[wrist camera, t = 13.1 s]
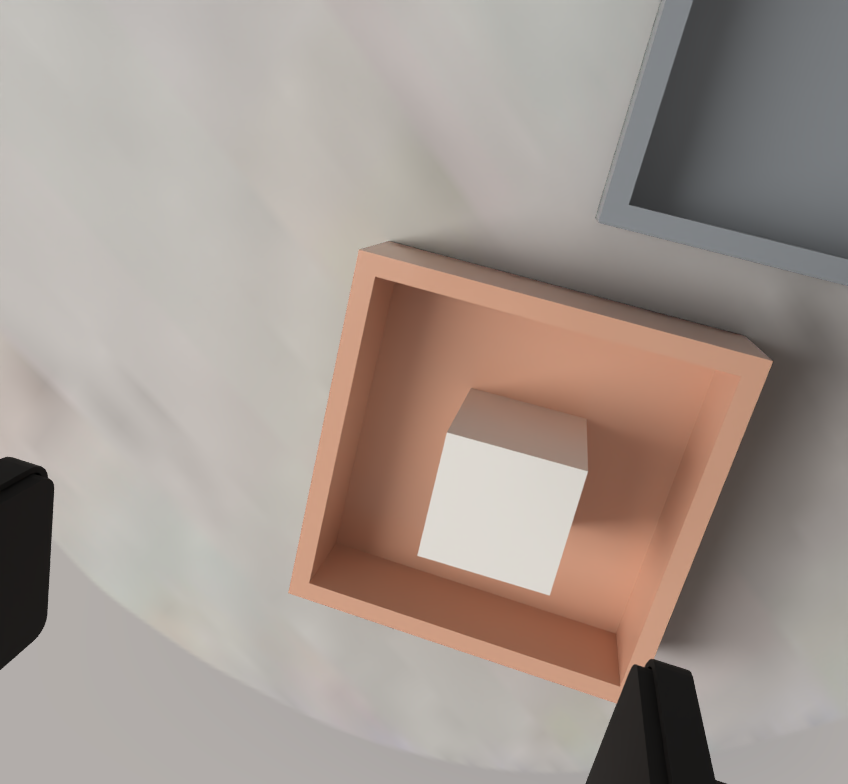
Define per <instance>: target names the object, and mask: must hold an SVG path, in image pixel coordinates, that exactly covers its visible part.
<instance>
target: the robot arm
mask: <svg viewBox="0 0 848 784" xmlns="http://www.w3.org/2000/svg"><path fill="white" fill-rule="evenodd" d="M53 501H54V484H53V482H52V480H50V479H49V478H48V474H47V472H46V470H45V469H44V468H43V467H41V466H38V465H35V464H32V463H29V462H25V461H22V460H19V459H16V458H13V457H5V458H2V459H0V670H1V669H2V668H3V667H4V666H5V665H6V664H8V663H9V662H10V661H11V660H12V659H13V658H15V657H16V656H17V655H18V654H19V653H20V652H21V651H23V650H24V649H25V648H26V647H27V646H28V645H29V644H30V643H32V642H33V641H34V640H35V639H36V638H37V637H38V635H39V634H40V633H41V631H42V629H43V627H44V625H45V622H46V619H47V609H48V590H49V572H50V555H51V537H52V519H53ZM586 784H726V783H722V782H720V781H717V780H715V777H714V772H713V768H712V763H711V758H710V754H709V749H708V745H707V740H706V735H705V731H704V726H703V722H702V717H701V712H700V708H699V703H698V699H697V694H696V690H695V685H694V680H693V676H692V674H691V672H690V671H689V670H686V669H683V668H680V667H677V666H673V665H670V664H667V663H664V662H661V661H658V660H654V659H650V660H648V662H647V663H646V665H645V667H642V666H639V665H636V664H634V665H633V666H632V667H631V669H630V671H629V674H628V676H627V679H626V681H625V684H624V686H623V689H622V692H621V694H620V697H619V699H618V702H617V704H616V707H615V710H614V712H613V715H612V717H611V720H610V722H609V725H608V727H607V730H606V733H605V735H604V738H603V740H602V743H601V745H600V748H599V750H598V753H597V756H596V758H595V761H594V763H593V766H592V768H591V771H590V774H589V776H588V779H587V781H586Z"/></svg>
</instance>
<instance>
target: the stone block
mask: <svg viewBox="0 0 848 784" xmlns="http://www.w3.org/2000/svg"><path fill="white" fill-rule="evenodd" d="M587 473H588V452H587V419H585V418H582V417H578V416H574V415H570V414H567V413H563V412H559V411H555V410H552V409H548V408H544V407H540V406H537V405H533V404H529V403H525V402H522V401H518V400H514V399H510V398H507V397H503V396H499V395H495V394H492V393H488V392H484V391H480V390H477V389H473V388H471V389H470V391H469V393H468V394H467V396H466V398H465V400H464V402H463V404H462V405H461V407H460V409H459V411H458V413H457V415H456V417H455V418H454V420H453V422H452V424H451V426H450V428H449V429H448V431H447V434H446V438H445V442H444V446H443V451H442V455H441V459H440V463H439V467H438V472H437V476H436V480H435V484H434V488H433V492H432V497H431V501H430V505H429V509H428V513H427V517H426V522H425V526H424V530H423V534H422V538H421V542H420V547H419V551H418V555H417V556H420V557H423V558H427V559H430V560H433V561H437V562H440V563H443V564H447V565H450V566H453V567H457V568H460V569H463V570H467V571H470V572H473V573H476V574H480V575H483V576H486V577H490V578H493V579H496V580H500V581H503V582H506V583H510V584H513V585H516V586H520V587H523V588H526V589H530V590H533V591H536V592H540V593H543V594H546V595H550V593H551V590H552V586H553V583H554V580H555V577H556V573H557V570H558V567H559V564H560V561H561V557H562V554H563V551H564V548H565V544H566V541H567V538H568V535H569V531H570V528H571V525H572V522H573V519H574V515H575V512H576V509H577V506H578V502H579V499H580V496H581V493H582V489H583V486H584V483H585V480H586V477H587Z"/></svg>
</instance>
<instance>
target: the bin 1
mask: <svg viewBox="0 0 848 784" xmlns="http://www.w3.org/2000/svg"><path fill="white" fill-rule="evenodd" d="M772 363H773V361H772V360H771V359H770V358H769V357H768V356H767V355H766V354H765V353H763V352H762V351H761V350H760V349H759V348H758V347H757V346H756V345H755V344H753V343H752V342H751V341H750V340H749V339H748V338H747V337H746V336H743V335H740V334H736V333H732V332H728V331H725V330H721V329H717V328H713V327H710V326H706V325H702V324H698V323H695V322H691V321H687V320H683V319H680V318H676V317H672V316H668V315H665V314H661V313H657V312H653V311H650V310H646V309H642V308H638V307H635V306H631V305H627V304H623V303H620V302H616V301H612V300H608V299H605V298H601V297H597V296H593V295H590V294H586V293H582V292H578V291H575V290H571V289H567V288H563V287H560V286H556V285H552V284H548V283H545V282H541V281H537V280H533V279H530V278H526V277H522V276H518V275H515V274H511V273H507V272H503V271H500V270H496V269H492V268H488V267H485V266H481V265H477V264H473V263H470V262H466V261H462V260H458V259H455V258H451V257H447V256H443V255H440V254H436V253H432V252H428V251H425V250H421V249H417V248H413V247H410V246H406V245H402V244H398V243H395V242H391V241H388V242H384V243H381V244H377V245H373V246H370V247H366V248H363V249H359V252H358V257H357V262H356V267H355V271H354V276H353V281H352V286H351V291H350V296H349V301H348V306H347V310H346V315H345V320H344V325H343V330H342V335H341V340H340V344H339V349H338V354H337V359H336V364H335V369H334V374H333V379H332V383H331V388H330V393H329V398H328V403H327V408H326V413H325V417H324V422H323V427H322V432H321V437H320V442H319V447H318V452H317V456H316V461H315V466H314V471H313V476H312V481H311V486H310V490H309V495H308V500H307V505H306V510H305V515H304V520H303V525H302V529H301V534H300V539H299V544H298V549H297V554H296V559H295V563H294V568H293V573H292V578H291V583H290V588H289V593H290V594H293V595H296V596H299V597H302V598H305V599H308V600H310V601H313V602H316V603H319V604H322V605H325V606H328V607H331V608H334V609H337V610H340V611H343V612H346V613H349V614H352V615H355V616H358V617H361V618H364V619H367V620H370V621H373V622H376V623H379V624H382V625H385V626H388V627H391V628H394V629H397V630H400V631H403V632H406V633H409V634H412V635H415V636H418V637H421V638H424V639H427V640H429V641H432V642H435V643H438V644H441V645H444V646H447V647H450V648H453V649H456V650H459V651H462V652H465V653H468V654H471V655H474V656H477V657H480V658H483V659H486V660H489V661H492V662H495V663H498V664H501V665H504V666H507V667H510V668H513V669H516V670H519V671H522V672H525V673H528V674H531V675H534V676H537V677H540V678H543V679H546V680H549V681H551V682H554V683H557V684H560V685H563V686H566V687H569V688H572V689H575V690H578V691H581V692H584V693H587V694H590V695H593V696H596V697H599V698H602V699H605V700H608V701H611V702H614V703H617V702H618V699H619V697H620V694H621V692H622V689H623V686H624V684H625V681H626V679H627V676H628V674H629V671H630V669H631V667H632V666H633V665H634V664H636V665H639V666H642V667H645V665H646V663H647V662H648V660H650V659H654V657H655V654H656V652H657V649H658V647H659V644H660V642H661V640H662V637H663V635H664V632H665V630H666V627H667V625H668V622H669V620H670V617H671V615H672V612H673V610H674V607H675V605H676V602H677V600H678V597H679V595H680V592H681V590H682V587H683V585H684V582H685V580H686V577H687V575H688V572H689V570H690V567H691V565H692V562H693V560H694V557H695V555H696V552H697V550H698V547H699V545H700V542H701V540H702V537H703V535H704V532H705V530H706V527H707V525H708V522H709V520H710V517H711V515H712V512H713V510H714V507H715V505H716V502H717V500H718V497H719V495H720V492H721V490H722V487H723V485H724V483H725V480H726V478H727V475H728V473H729V470H730V468H731V465H732V463H733V460H734V458H735V455H736V453H737V450H738V448H739V445H740V443H741V440H742V438H743V435H744V433H745V430H746V428H747V425H748V423H749V420H750V418H751V415H752V413H753V410H754V408H755V405H756V403H757V400H758V398H759V395H760V393H761V390H762V388H763V385H764V383H765V380H766V378H767V375H768V373H769V370H770V368H771V365H772ZM471 388H473V389H477V390H480V391H484V392H488V393H492V394H495V395H499V396H503V397H507V398H510V399H514V400H518V401H522V402H525V403H529V404H533V405H537V406H540V407H544V408H548V409H552V410H555V411H559V412H563V413H567V414H570V415H574V416H578V417H582V418H585V419H587V452H588V473H587V477H586V480H585V483H584V486H583V489H582V493H581V496H580V499H579V502H578V506H577V509H576V512H575V515H574V519H573V522H572V525H571V528H570V531H569V535H568V538H567V541H566V544H565V548H564V551H563V554H562V557H561V561H560V564H559V567H558V570H557V573H556V577H555V580H554V583H553V586H552V590H551V593H550V595H546V594H543V593H540V592H536V591H533V590H530V589H526V588H523V587H520V586H516V585H513V584H510V583H506V582H503V581H500V580H496V579H493V578H490V577H486V576H483V575H480V574H476V573H473V572H470V571H467V570H463V569H460V568H457V567H453V566H450V565H447V564H443V563H440V562H437V561H433V560H430V559H427V558H423V557H420V556H417V555H418V551H419V547H420V542H421V538H422V534H423V530H424V526H425V522H426V517H427V513H428V509H429V505H430V501H431V497H432V492H433V488H434V484H435V480H436V476H437V472H438V467H439V463H440V459H441V455H442V451H443V446H444V442H445V438H446V434H447V431H448V429H449V428H450V426H451V424H452V422H453V420H454V418H455V417H456V415H457V413H458V411H459V409H460V407H461V405H462V404H463V402H464V400H465V398H466V396H467V394H468V393H469V391H470V389H471Z"/></svg>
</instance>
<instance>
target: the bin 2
mask: <svg viewBox="0 0 848 784" xmlns="http://www.w3.org/2000/svg"><path fill="white" fill-rule="evenodd" d="M596 219H597V221H598V223H602V224H606V225H610V226H614V227H618V228H621V229H625V230H629V231H633V232H637V233H641V234H645V235H649V236H653V237H657V238H661V239H665V240H669V241H673V242H677V243H681V244H685V245H688V246H692V247H696V248H700V249H704V250H708V251H712V252H716V253H720V254H724V255H728V256H732V257H736V258H740V259H744V260H748V261H752V262H755V263H759V264H763V265H767V266H771V267H775V268H779V269H783V270H787V271H791V272H795V273H799V274H803V275H807V276H811V277H815V278H819V279H823V280H826V281H830V282H834V283H838V284H842V285H846V286H848V0H661V2H660V6H659V9H658V12H657V15H656V19H655V22H654V25H653V29H652V32H651V35H650V39H649V42H648V45H647V49H646V52H645V55H644V58H643V62H642V65H641V68H640V72H639V75H638V78H637V82H636V85H635V88H634V92H633V95H632V98H631V101H630V105H629V108H628V111H627V115H626V118H625V121H624V125H623V128H622V131H621V135H620V138H619V141H618V144H617V148H616V151H615V154H614V158H613V161H612V164H611V168H610V171H609V174H608V178H607V181H606V184H605V188H604V191H603V194H602V197H601V201H600V204H599V207H598V211H597V214H596Z"/></svg>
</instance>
